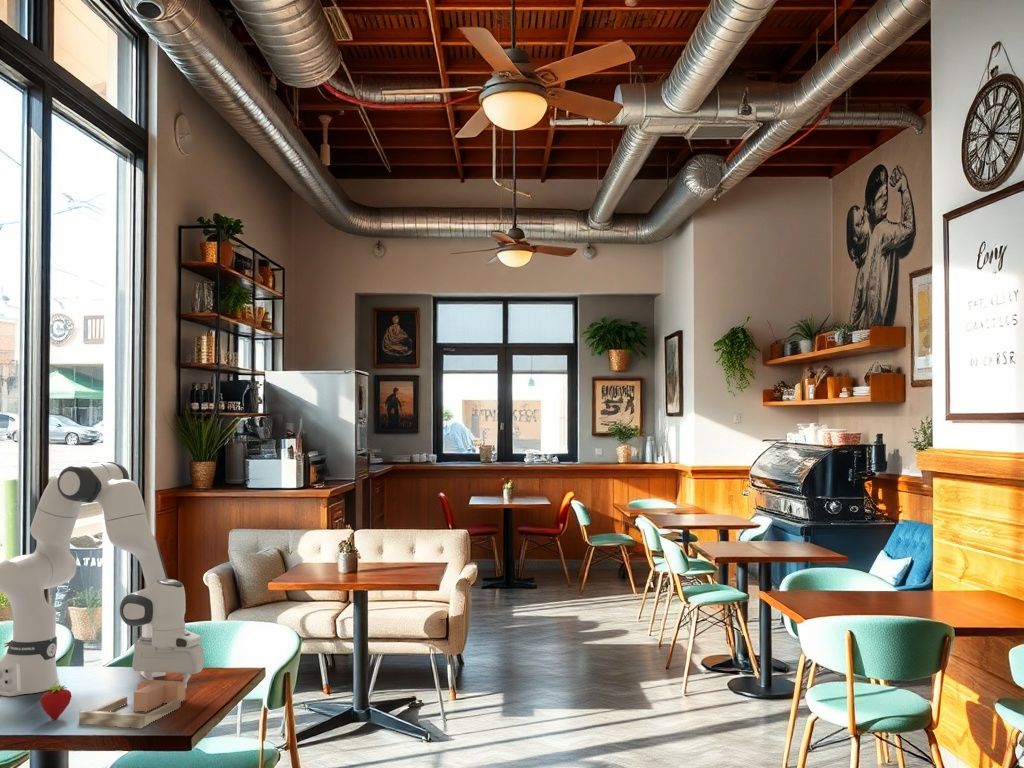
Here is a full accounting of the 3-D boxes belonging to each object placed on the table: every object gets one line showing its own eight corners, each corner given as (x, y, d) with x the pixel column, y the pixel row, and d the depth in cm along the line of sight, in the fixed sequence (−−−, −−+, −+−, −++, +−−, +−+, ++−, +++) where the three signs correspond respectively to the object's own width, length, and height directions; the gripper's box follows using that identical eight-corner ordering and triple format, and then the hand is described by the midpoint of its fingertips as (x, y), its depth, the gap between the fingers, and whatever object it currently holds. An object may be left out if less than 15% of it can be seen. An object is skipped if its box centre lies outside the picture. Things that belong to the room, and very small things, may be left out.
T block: (119, 710, 239) (120, 691, 239) (145, 697, 251) (146, 679, 251) (160, 712, 237) (161, 693, 237) (185, 700, 249) (185, 681, 249)
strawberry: (75, 717, 232) (77, 678, 233) (47, 725, 226) (48, 685, 227) (63, 714, 236) (64, 675, 236) (34, 721, 229) (36, 681, 230)
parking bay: (78, 724, 227) (79, 711, 228) (122, 703, 245) (122, 692, 245) (140, 728, 224) (141, 716, 224) (180, 707, 242) (180, 696, 242)
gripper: (128, 639, 250) (127, 689, 249) (195, 641, 247) (194, 692, 246) (141, 634, 257) (140, 683, 256) (207, 636, 253) (206, 686, 252)
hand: (167, 688), depth 251 cm, fingers open, 8 cm apart
